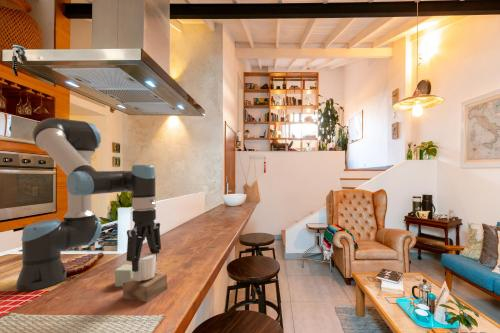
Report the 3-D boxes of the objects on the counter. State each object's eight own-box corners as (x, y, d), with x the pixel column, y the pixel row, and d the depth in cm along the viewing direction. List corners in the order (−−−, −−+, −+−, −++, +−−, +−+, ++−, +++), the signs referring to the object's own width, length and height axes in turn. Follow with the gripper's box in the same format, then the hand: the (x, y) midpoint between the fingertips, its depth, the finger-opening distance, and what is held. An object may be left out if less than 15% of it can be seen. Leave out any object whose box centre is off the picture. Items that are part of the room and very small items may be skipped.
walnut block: (123, 298, 87) (122, 282, 87) (144, 285, 97) (144, 271, 97) (147, 302, 84) (147, 286, 84) (167, 288, 93) (166, 274, 93)
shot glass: (133, 282, 86) (132, 261, 86) (136, 274, 93) (135, 254, 93) (155, 279, 88) (154, 258, 88) (156, 271, 95) (156, 252, 95)
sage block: (115, 286, 97) (114, 270, 97) (124, 279, 103) (124, 264, 103) (130, 286, 96) (130, 270, 96) (138, 280, 102) (138, 264, 102)
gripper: (131, 214, 80) (132, 289, 80) (170, 205, 99) (172, 267, 99) (112, 213, 83) (113, 286, 82) (154, 205, 101) (155, 265, 101)
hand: (145, 275), depth 90 cm, fingers closed on shot glass, 7 cm apart
